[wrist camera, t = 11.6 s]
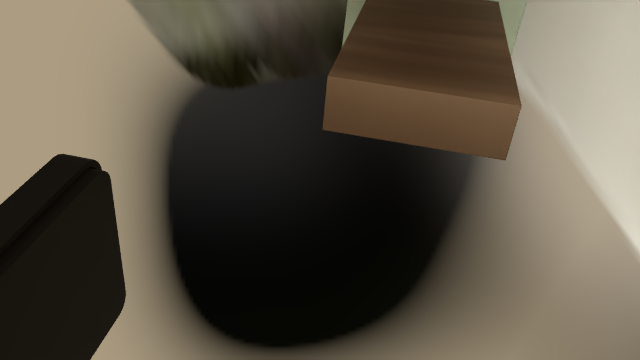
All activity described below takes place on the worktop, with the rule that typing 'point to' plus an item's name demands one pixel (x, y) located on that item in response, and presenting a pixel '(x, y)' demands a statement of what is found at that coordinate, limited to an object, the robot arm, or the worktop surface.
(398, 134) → the domino
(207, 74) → the worktop surface
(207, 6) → the worktop surface
